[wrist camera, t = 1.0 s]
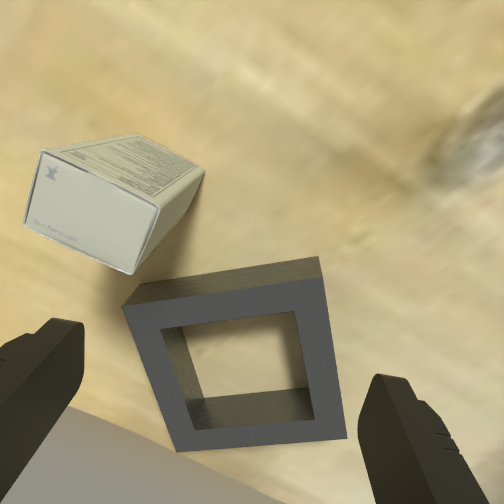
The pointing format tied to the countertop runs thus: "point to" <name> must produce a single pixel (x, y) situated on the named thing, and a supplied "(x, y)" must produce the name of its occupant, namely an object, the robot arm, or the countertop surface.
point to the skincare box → (111, 197)
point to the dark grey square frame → (244, 405)
